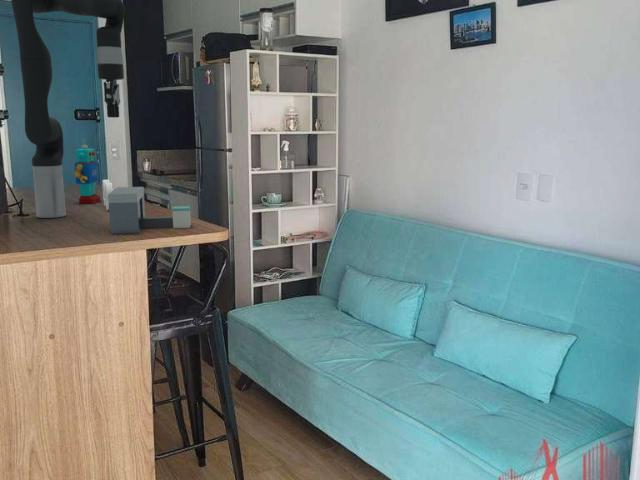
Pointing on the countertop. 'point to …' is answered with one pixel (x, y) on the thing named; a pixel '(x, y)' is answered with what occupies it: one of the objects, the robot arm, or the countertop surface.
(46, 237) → the countertop surface
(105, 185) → the letter
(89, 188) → the toy robot
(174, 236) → the countertop surface
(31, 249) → the countertop surface
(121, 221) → the housing
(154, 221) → the plug
